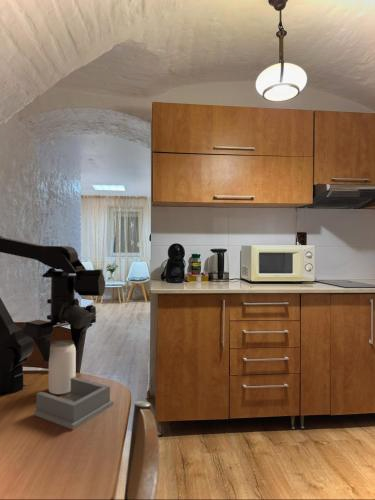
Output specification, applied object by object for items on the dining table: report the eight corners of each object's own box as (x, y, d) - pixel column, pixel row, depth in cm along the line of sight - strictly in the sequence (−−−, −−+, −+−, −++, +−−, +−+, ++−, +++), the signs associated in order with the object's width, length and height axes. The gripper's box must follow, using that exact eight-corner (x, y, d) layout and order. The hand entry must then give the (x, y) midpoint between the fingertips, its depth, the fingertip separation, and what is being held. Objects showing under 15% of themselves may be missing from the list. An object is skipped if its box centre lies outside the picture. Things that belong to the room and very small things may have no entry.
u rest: (33, 415, 73) (34, 394, 72) (76, 393, 83) (76, 376, 83) (73, 430, 67) (73, 407, 67) (113, 405, 77) (113, 386, 77)
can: (66, 396, 82) (66, 347, 82) (42, 393, 83) (43, 345, 83) (80, 385, 88) (80, 340, 88) (58, 383, 89) (58, 338, 89)
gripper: (54, 303, 73) (53, 374, 73) (111, 293, 90) (110, 351, 90) (21, 298, 78) (21, 364, 79) (81, 290, 95) (80, 344, 95)
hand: (61, 355), depth 85 cm, fingers open, 9 cm apart
